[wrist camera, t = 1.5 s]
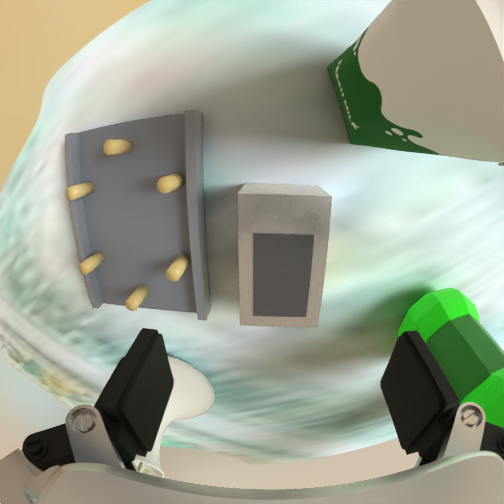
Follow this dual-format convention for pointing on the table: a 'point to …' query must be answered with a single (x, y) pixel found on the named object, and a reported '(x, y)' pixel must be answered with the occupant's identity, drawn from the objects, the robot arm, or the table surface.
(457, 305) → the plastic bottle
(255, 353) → the table surface
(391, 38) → the milk carton
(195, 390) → the flower in vase
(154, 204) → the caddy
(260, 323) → the block
